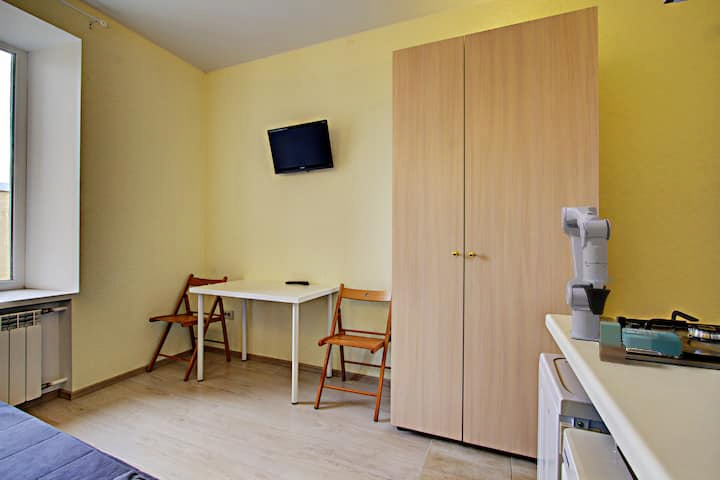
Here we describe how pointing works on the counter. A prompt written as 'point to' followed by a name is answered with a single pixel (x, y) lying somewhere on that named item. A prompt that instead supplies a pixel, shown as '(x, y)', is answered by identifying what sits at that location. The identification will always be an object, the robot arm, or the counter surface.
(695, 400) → the counter surface
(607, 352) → the walnut slab upper
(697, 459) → the counter surface
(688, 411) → the counter surface
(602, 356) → the walnut slab lower
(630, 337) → the data package
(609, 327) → the teal block
